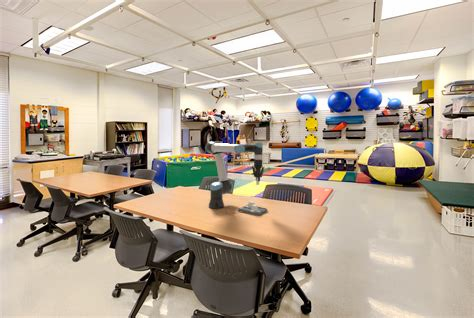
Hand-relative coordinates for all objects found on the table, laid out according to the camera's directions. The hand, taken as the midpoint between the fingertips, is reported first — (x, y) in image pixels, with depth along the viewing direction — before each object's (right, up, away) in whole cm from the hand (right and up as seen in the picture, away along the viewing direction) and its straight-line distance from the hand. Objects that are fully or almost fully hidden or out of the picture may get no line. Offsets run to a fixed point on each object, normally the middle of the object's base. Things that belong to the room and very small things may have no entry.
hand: (257, 184), depth 226 cm
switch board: (-5, -25, -1) cm, 25 cm away
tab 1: (-6, -22, +4) cm, 23 cm away
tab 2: (-4, -23, -6) cm, 24 cm away
